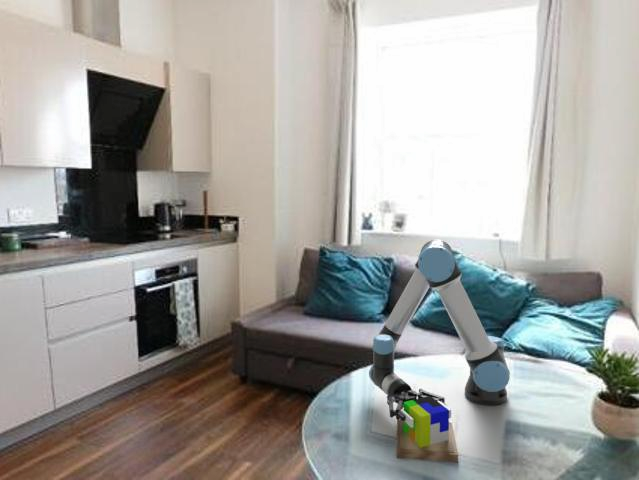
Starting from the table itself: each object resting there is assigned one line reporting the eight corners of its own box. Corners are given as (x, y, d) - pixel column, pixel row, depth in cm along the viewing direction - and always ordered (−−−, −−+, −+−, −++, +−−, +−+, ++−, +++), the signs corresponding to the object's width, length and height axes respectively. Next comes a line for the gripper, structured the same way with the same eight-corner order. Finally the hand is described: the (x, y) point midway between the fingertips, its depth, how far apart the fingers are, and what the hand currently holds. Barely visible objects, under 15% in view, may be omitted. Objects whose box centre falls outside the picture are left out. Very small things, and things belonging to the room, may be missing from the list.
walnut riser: (451, 429, 159) (451, 421, 158) (458, 462, 141) (458, 454, 141) (396, 426, 162) (396, 418, 161) (396, 458, 144) (396, 449, 144)
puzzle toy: (448, 440, 148) (449, 410, 147) (420, 447, 145) (421, 417, 143) (429, 424, 157) (430, 395, 156) (403, 431, 154) (403, 402, 152)
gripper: (427, 392, 172) (464, 421, 152) (364, 406, 163) (396, 439, 143) (427, 372, 170) (465, 399, 151) (364, 385, 162) (395, 415, 142)
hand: (431, 418), depth 147 cm, fingers open, 13 cm apart
